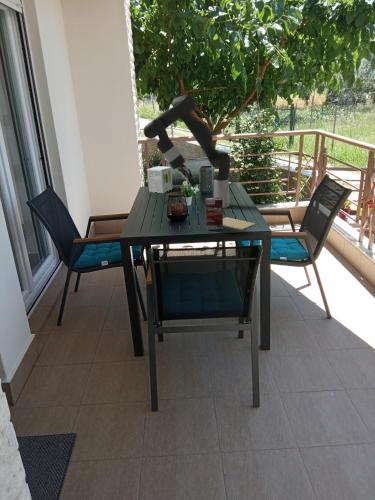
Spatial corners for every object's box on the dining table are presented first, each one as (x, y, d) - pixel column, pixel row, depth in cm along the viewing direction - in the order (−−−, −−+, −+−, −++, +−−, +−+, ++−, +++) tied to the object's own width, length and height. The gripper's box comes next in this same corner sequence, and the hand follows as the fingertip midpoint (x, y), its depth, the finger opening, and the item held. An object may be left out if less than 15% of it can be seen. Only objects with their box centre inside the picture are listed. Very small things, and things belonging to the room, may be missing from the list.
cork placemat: (226, 218, 221) (226, 217, 221) (255, 224, 207) (255, 223, 207) (212, 223, 213) (212, 222, 213) (241, 230, 200) (241, 229, 200)
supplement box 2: (206, 230, 202) (205, 200, 197) (206, 227, 207) (205, 198, 201) (223, 229, 203) (222, 199, 197) (222, 226, 207) (221, 197, 201)
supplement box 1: (162, 193, 288) (161, 169, 281) (148, 192, 295) (146, 168, 288) (173, 189, 298) (171, 166, 292) (159, 188, 305) (157, 165, 299)
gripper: (183, 151, 186) (204, 180, 191) (175, 154, 198) (195, 181, 203) (171, 161, 185) (192, 190, 190) (164, 163, 197) (184, 190, 202)
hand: (194, 185), depth 197 cm, fingers closed
